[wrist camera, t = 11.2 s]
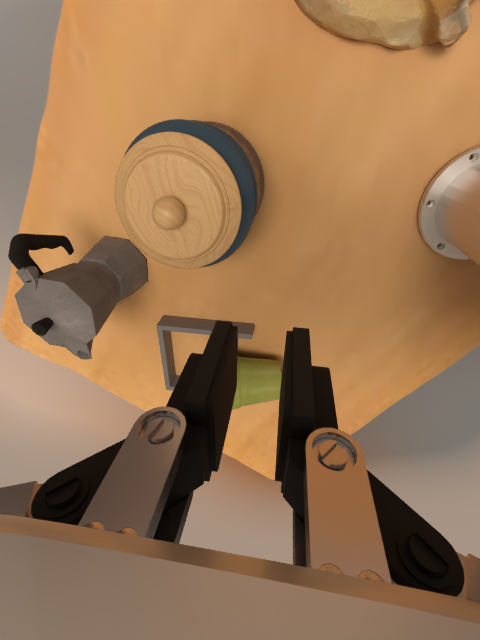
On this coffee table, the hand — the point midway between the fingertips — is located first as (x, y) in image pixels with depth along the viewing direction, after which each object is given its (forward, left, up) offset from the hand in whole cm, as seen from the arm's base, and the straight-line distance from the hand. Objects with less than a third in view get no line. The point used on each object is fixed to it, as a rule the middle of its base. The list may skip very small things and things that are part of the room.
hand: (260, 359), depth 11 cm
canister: (+9, -1, -32) cm, 34 cm away
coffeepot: (+24, +10, -32) cm, 41 cm away
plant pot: (-2, +27, -29) cm, 40 cm away
